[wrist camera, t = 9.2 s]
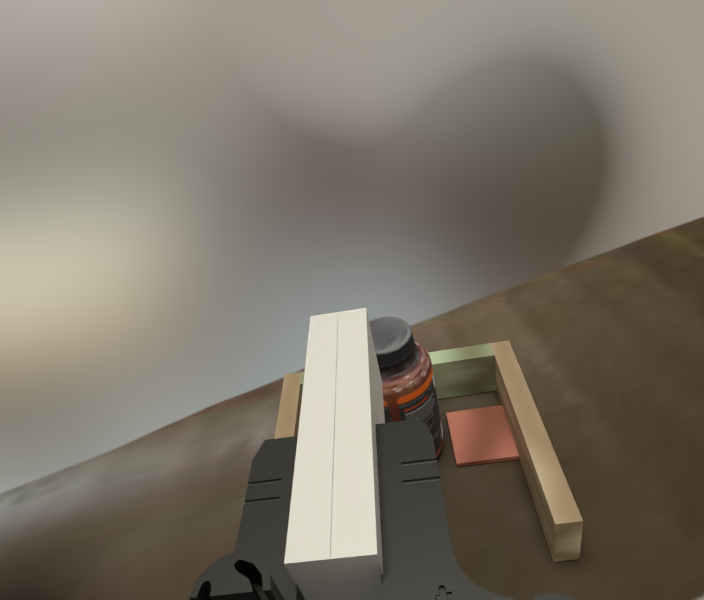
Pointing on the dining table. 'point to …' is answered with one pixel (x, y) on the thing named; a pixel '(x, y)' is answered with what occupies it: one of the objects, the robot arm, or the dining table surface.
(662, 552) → the dining table surface
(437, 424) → the supplement bottle
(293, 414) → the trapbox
